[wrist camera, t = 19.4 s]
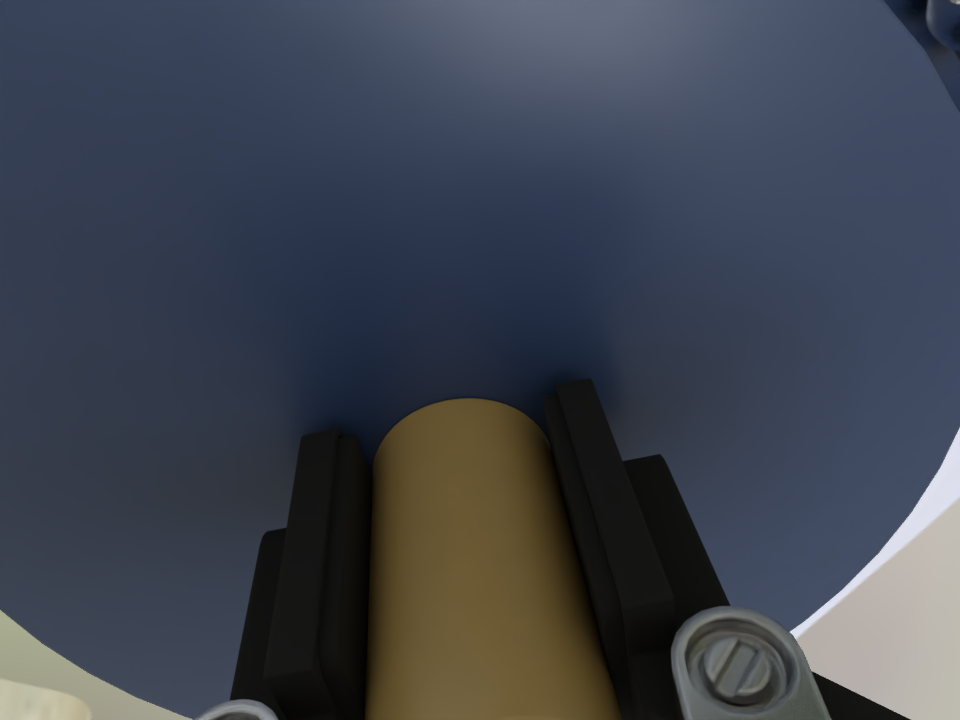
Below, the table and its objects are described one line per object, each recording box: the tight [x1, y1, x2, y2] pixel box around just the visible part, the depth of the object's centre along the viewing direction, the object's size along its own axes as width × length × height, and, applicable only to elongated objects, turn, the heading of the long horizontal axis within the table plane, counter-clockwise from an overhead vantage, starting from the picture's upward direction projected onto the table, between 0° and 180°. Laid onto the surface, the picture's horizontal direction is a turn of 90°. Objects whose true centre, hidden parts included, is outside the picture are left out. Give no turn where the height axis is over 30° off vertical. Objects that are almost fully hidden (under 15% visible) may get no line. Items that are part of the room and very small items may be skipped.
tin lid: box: [0, 0, 960, 720], centre depth 10 cm, size 16×16×6 cm
